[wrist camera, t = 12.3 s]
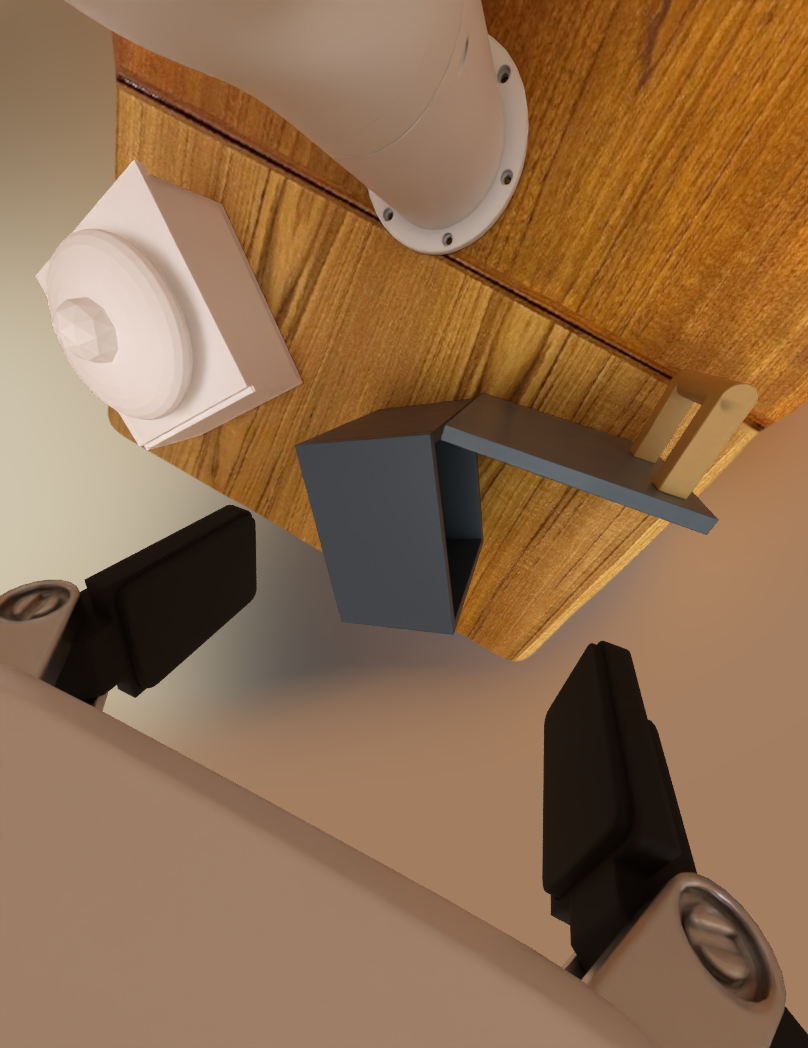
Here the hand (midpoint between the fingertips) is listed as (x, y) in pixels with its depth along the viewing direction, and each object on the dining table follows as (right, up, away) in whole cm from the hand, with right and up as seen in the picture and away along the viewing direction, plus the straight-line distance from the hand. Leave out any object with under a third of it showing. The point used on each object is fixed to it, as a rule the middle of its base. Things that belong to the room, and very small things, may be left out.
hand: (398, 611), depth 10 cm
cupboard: (+3, +7, +31) cm, 32 cm away
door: (+15, +14, +23) cm, 31 cm away
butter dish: (-22, +24, +32) cm, 46 cm away
